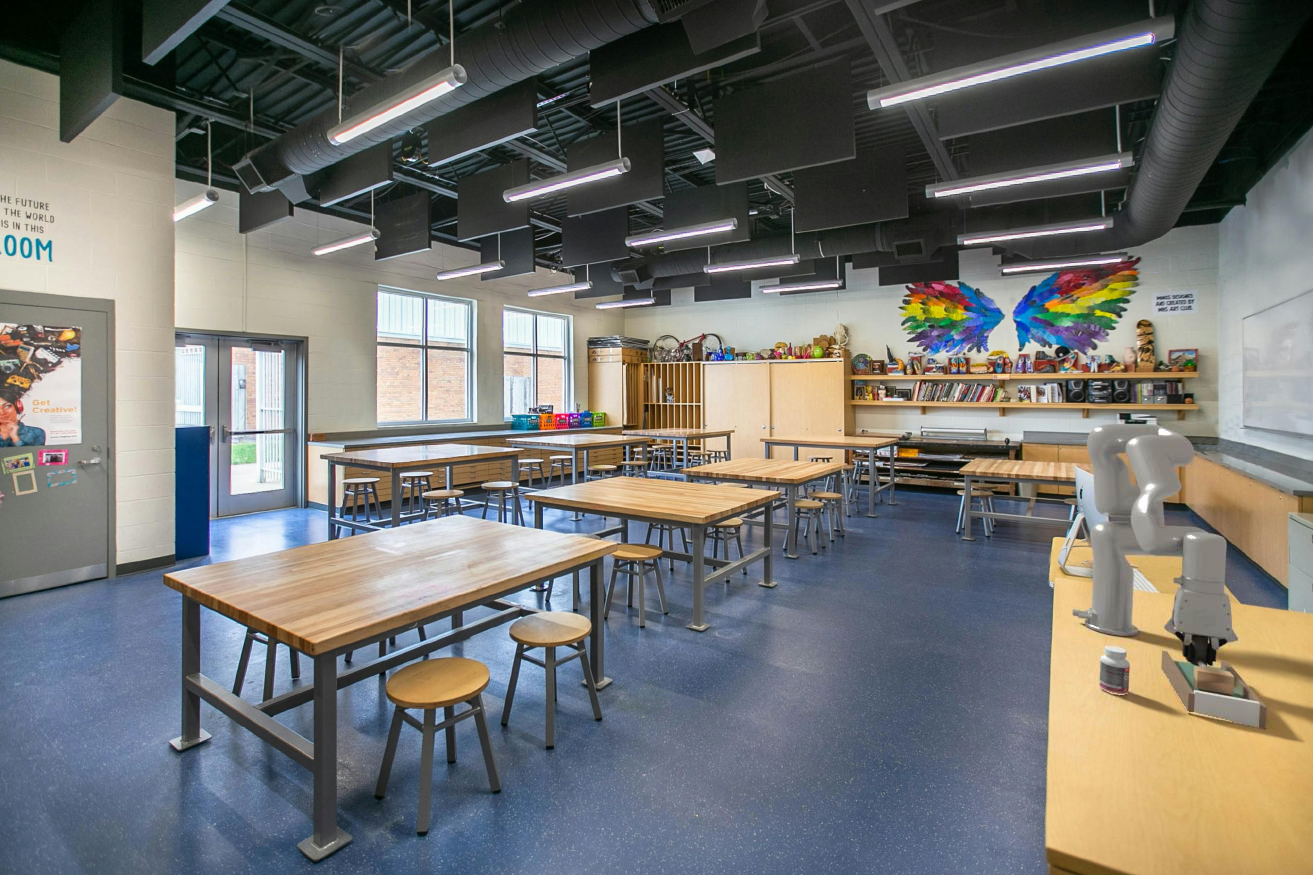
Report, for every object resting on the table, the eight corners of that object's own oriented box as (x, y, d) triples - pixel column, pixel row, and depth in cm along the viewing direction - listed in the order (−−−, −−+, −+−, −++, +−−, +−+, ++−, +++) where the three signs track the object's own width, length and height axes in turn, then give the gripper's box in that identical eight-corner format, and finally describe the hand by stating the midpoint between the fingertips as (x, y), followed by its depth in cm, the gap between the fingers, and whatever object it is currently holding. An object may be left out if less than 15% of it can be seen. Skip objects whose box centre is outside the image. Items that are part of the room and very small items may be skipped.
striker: (1196, 688, 133) (1198, 652, 133) (1180, 663, 146) (1181, 630, 146) (1233, 694, 130) (1235, 658, 130) (1213, 669, 143) (1215, 635, 142)
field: (1187, 713, 128) (1188, 690, 127) (1161, 668, 150) (1162, 648, 150) (1265, 728, 122) (1266, 704, 121) (1225, 679, 144) (1226, 658, 144)
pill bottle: (1130, 698, 134) (1132, 655, 134) (1100, 692, 137) (1102, 650, 137) (1126, 688, 139) (1127, 647, 139) (1097, 683, 142) (1099, 642, 141)
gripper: (1161, 584, 143) (1157, 660, 144) (1255, 595, 135) (1251, 675, 136) (1154, 576, 149) (1151, 649, 150) (1244, 586, 141) (1240, 663, 142)
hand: (1198, 661), depth 143 cm, fingers closed on striker, 3 cm apart
